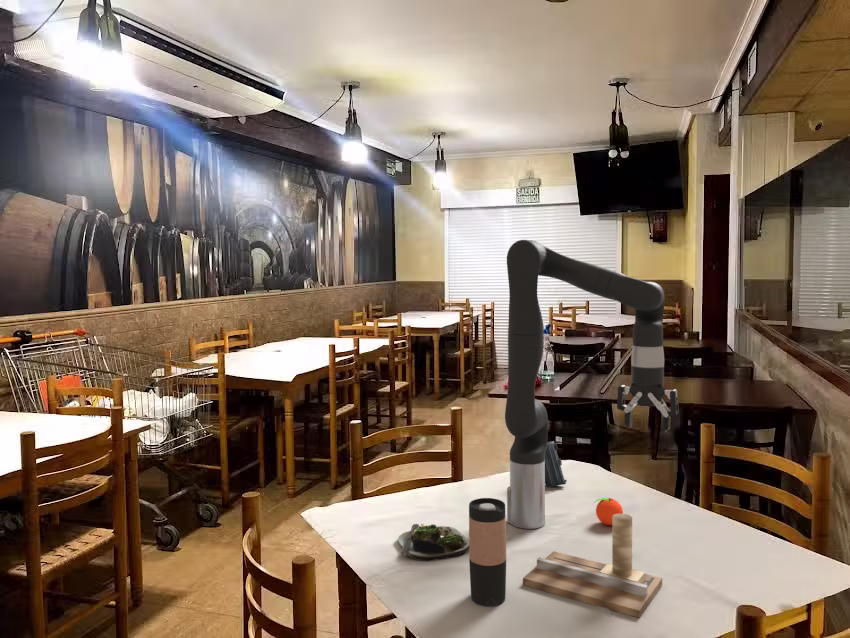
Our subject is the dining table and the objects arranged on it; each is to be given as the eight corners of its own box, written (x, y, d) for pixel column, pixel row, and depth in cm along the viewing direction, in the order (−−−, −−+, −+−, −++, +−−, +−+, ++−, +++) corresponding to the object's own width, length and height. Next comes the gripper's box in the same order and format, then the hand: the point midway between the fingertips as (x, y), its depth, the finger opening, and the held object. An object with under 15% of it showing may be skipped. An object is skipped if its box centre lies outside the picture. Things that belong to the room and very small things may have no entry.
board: (522, 584, 142) (522, 569, 142) (553, 557, 155) (553, 543, 155) (639, 618, 128) (639, 600, 128) (662, 584, 141) (662, 569, 141)
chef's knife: (598, 623, 127) (613, 622, 127) (597, 617, 127) (613, 616, 127) (581, 576, 146) (595, 575, 146) (581, 571, 146) (594, 570, 146)
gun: (507, 438, 210) (553, 429, 206) (521, 489, 210) (567, 481, 206) (505, 440, 208) (551, 431, 203) (519, 492, 208) (566, 483, 203)
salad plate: (385, 535, 171) (384, 518, 171) (449, 525, 176) (449, 508, 176) (406, 567, 153) (405, 547, 152) (477, 555, 158) (477, 536, 158)
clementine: (590, 527, 173) (589, 500, 172) (593, 517, 179) (593, 492, 179) (621, 530, 170) (621, 504, 169) (624, 521, 176) (624, 495, 176)
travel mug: (467, 590, 140) (465, 498, 139) (502, 588, 141) (501, 496, 139) (472, 608, 133) (471, 511, 131) (510, 606, 133) (509, 509, 132)
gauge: (599, 581, 140) (599, 516, 139) (608, 570, 145) (608, 508, 144) (637, 591, 135) (637, 524, 134) (645, 580, 140) (645, 516, 139)
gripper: (613, 364, 161) (613, 429, 162) (673, 368, 153) (673, 436, 154) (623, 360, 167) (623, 423, 169) (682, 364, 159) (681, 430, 160)
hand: (647, 429), depth 161 cm, fingers open, 8 cm apart
